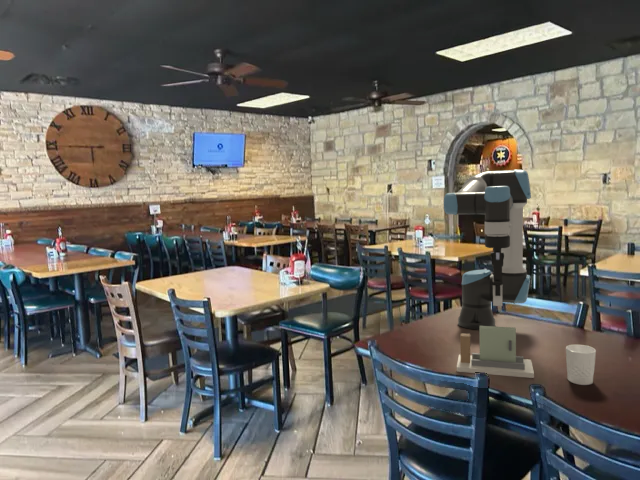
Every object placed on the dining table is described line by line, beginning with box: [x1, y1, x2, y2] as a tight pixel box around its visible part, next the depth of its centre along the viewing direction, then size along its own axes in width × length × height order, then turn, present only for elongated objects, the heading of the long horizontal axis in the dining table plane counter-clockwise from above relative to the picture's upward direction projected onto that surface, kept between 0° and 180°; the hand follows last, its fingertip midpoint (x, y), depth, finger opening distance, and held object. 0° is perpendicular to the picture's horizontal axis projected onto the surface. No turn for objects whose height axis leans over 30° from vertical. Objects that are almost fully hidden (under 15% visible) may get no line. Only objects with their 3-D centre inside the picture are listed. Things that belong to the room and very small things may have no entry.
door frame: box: [456, 332, 535, 379], centre depth 158 cm, size 23×12×10 cm, turn 71°
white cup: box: [565, 343, 597, 386], centre depth 146 cm, size 8×8×10 cm
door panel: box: [478, 325, 517, 362], centre depth 157 cm, size 11×4×12 cm, turn 71°
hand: (497, 300), depth 156 cm, fingers open, 13 cm apart
